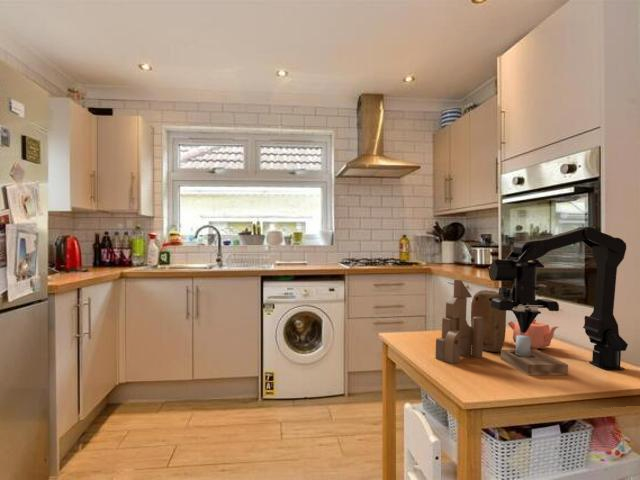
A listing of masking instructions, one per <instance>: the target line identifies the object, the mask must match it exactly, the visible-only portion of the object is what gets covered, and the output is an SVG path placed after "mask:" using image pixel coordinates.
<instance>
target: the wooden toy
mask: <svg viewBox="0 0 640 480" xmlns="http://www.w3.org/2000/svg"><path fill="white" fill-rule="evenodd" d="M469 298H473V297H472V294H471V293H470V291H469V290H468V287H466V285H465V284H464V282H463V280H461V279H459V278H458V279H457V278H454V280H453V296H449V298H448V299H447V301H446V302H445V317H442V320H441V321H442V323H441V337H438V338H436V339H435V359H436V360H439V361H441V362H445V363H448V364H450V365H454V364H458V363H460V356H462V357H468V355H469V356H472V357H473V358H475V357H476V358H477V359H481V358H483V351H484V350H483V325H484V319H483V318H482V317H477V316H476V317H473V331H472V327H470V324H468V322H467V303H468V299H469Z"/></svg>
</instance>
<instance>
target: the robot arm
mask: <svg viewBox="0 0 640 480" xmlns="http://www.w3.org/2000/svg"><path fill="white" fill-rule="evenodd" d="M577 243H578V244H579V243H583V244H584V245H585V246H586V247H588V248H590V249H591V251H592V257H593V260H594V262H595V264H596V266H597V267H596V277H595V287H594V288H595V289H594V301H593V309H592V313H591V314H590V315H585V316H584V319H583V320H584V324H583V326H582V329H584V332H585V335H586V336H587V337H588V339H589V343H592V344H593V350H592V360H589V361H588V362H589V364H592V365H593V366H596V367H598V368H600V369H602V370H606V371H608V370H610V371H611V370H612V371H614V370H613V369H626V368H625V367H623V366H621V359H622V358H621V355H622V352H626V351H627V348H628V345H629V344H628V343H627V341H625V340H624V338H622V336H621V335H620V332H619V330H620V329H619V324H618V322H617V320H616V317H615V316H614V308H615V306H614V305H615V297H616V295H615V294H616V287H617V286H616V285H617V272H618V267H619V266H620V264H621V263H622V262H623V261H624V259H625V256H626V252H627V244H626V242H625V241H624V240H623V238H620V237H614V236H612V235H610V234H607V233H605V232H602V231H599V230H597V229H595V228H593V227H592V226H579V227H577V228H574V229H571V230H568V231H565V232H561V233H558V234H554V235H551V236H547V237H544V238H537V239H526V240H519V241H517V242H515V243H514V246H513V248H512V250H511V252H510V253H509V254H508V255H507V256H506V258H505V259H500V258H499V259H498V258H492V262H491V263H490V266H489V268H488V276H489V279H490V281H491V282H514V283H512V285H511V288H508V287H506V286H500V287H498V293H499V297H500V298H493V300H492V301H491V307H493V308H495V309H498V310H503V311H506V312H507V311H508V312H509V311H511V313H513V314H514V316H515V318H516V320H517V321H518V324H519V327H520V330H521V332H522V333H526V332H527V330H528V328H529V327H530V325H531V323H532V322H533V320H534V319H536V318H537V317H538V315H539V314H540V315H541V314H542V311H539V308H540V309H547V310H548V311H549V312H559V311H560V304H559V303H558V301H555V300H552V299H548V298H537V297H536V296H537V295H536V294H537V293H536V292H537V291H538V290H539V288H540V287H539V286H538V285H537V269H540V268H541V269H544V268H545V265H544V264H542V263H541V261H540V260H539V259H540V258H542V257H544V256H545V255H547V254H548V253H550V252H551V251H554V250H558V249H561V248H565V247H568V246H571V245H574V244H577ZM517 321H516V322H517Z"/></svg>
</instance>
